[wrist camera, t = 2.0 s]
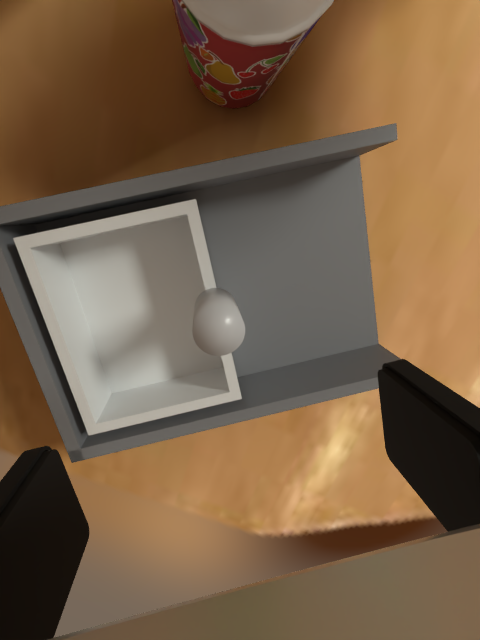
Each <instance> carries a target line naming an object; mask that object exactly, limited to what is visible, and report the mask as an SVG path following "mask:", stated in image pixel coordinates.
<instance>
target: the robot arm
mask: <svg viewBox="0 0 480 640" xmlns="http://www.w3.org/2000/svg"><path fill="white" fill-rule="evenodd" d="M378 384H379V394H380V403H381V412H382V421H383V430H384V439H385V448H386V452H387V455H388V457H389V459H390V460H391V462H392V463H393V464H394V466H395V467H396V468H397V469H398V470H399V472H400V473H401V474H402V475H403V477H404V478H405V479H406V480H407V482H408V483H409V484H410V485H411V487H412V488H413V489H414V490H415V491H416V493H417V494H418V495H419V496H420V498H421V499H422V500H423V501H424V503H425V504H426V505H427V506H428V508H429V509H430V510H431V511H432V512H433V514H434V515H435V516H436V517H437V519H438V520H439V521H440V522H441V524H442V525H443V526H444V527H445V529H446V530H447V531H448V532H446V533H442V534H438V535H434V536H430V537H426V538H421V539H418V540H414V541H410V542H406V543H402V544H399V545H395V546H391V547H387V548H383V549H380V550H376V551H372V552H368V553H364V554H361V555H357V556H353V557H349V558H345V559H342V560H338V561H334V562H330V563H327V564H323V565H319V566H315V567H312V568H308V569H304V570H300V571H296V572H293V573H289V574H285V575H281V576H278V577H274V578H270V579H267V580H263V581H259V582H256V583H252V584H248V585H245V586H241V587H237V588H233V589H230V590H226V591H222V592H219V593H215V594H211V595H208V596H204V597H201V598H197V599H193V600H189V601H186V602H182V603H178V604H175V605H171V606H167V607H163V608H160V609H156V610H152V611H149V612H146V613H142V614H138V615H134V616H131V617H128V618H124V619H120V620H117V621H113V622H109V623H106V624H102V625H98V626H95V627H91V628H88V629H84V630H80V631H77V632H73V633H70V634H66V635H62V636H59V637H55V638H53V637H54V635H55V632H56V629H57V626H58V623H59V620H60V618H61V615H62V612H63V609H64V606H65V603H66V601H67V598H68V595H69V592H70V589H71V586H72V584H73V581H74V578H75V575H76V573H77V570H78V567H79V564H80V561H81V558H82V556H83V553H84V550H85V547H86V544H87V541H88V538H89V526H88V523H87V520H86V518H85V515H84V513H83V510H82V508H81V506H80V503H79V501H78V498H77V496H76V494H75V491H74V489H73V486H72V484H71V481H70V479H69V476H68V474H67V472H66V469H65V467H64V464H63V462H62V459H61V457H60V454H59V453H58V451H57V450H55V449H53V450H52V449H51V448H50V447H49V446H44V447H40V448H36V449H31V450H27V451H24V452H23V453H22V454H21V456H20V457H19V458H18V459H17V461H16V462H15V463H14V465H13V466H12V467H11V469H10V470H9V471H8V472H7V474H6V475H5V476H4V477H3V479H2V480H1V481H0V640H480V408H478V407H477V406H475V405H474V404H472V403H471V402H469V401H468V400H466V399H465V398H463V397H461V396H460V395H458V394H457V393H455V392H454V391H452V390H451V389H449V388H448V387H446V386H445V385H443V384H442V383H440V382H439V381H437V380H436V379H434V378H432V377H431V376H429V375H428V374H426V373H425V372H423V371H422V370H420V369H419V368H417V367H416V366H414V365H413V364H411V363H410V362H408V361H407V360H405V359H401V360H397V361H392V362H388V363H384V364H383V366H382V369H381V370H378Z"/></svg>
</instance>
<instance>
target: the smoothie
mask: <svg viewBox="0 0 480 640" xmlns="http://www.w3.org/2000/svg"><path fill="white" fill-rule="evenodd" d="M172 2H173V6H174V10H175V15H176V19H177V23H178V27H179V31H180V36H181V40H182V44H183V48H184V52H185V57H186V61H187V65H188V69H189V73H190V75H191V77H192V79H193V81H194V83H195V85H196V87H197V88H198V89H199V90H200V92H201V93H202V94H203V95H204V96H205V97H206V98H207V99H208V100H210V101H212V102H214V103H215V104H217V105H219V106H222V107H227V108H232V109H235V108H241V107H247V106H249V105H251V104H252V103H254V102H256V101H258V100H259V99H260V98H261V97H262V96H263V95H264V94H265V93H266V92H267V90H268V89H269V88H270V86H271V85H272V84H273V82H274V81H275V79H276V78H277V77H278V75H279V74H280V73H281V71H282V70H283V68H284V67H285V66H286V64H287V63H288V61H289V60H290V59H291V57H292V56H293V55H294V53H295V52H296V50H297V49H298V48H299V46H300V45H301V44H302V42H303V41H304V39H305V38H306V37H307V35H308V34H309V32H310V31H311V30H312V28H313V27H314V26H315V24H316V23H317V21H318V20H319V19H320V17H321V16H322V14H323V13H324V12H325V11H326V10H327V9H328V8H329V7H330V6H331V5H332V4H333V2H334V0H172Z"/></svg>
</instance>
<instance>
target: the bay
mask: <svg viewBox="0 0 480 640" xmlns="http://www.w3.org/2000/svg"><path fill="white" fill-rule="evenodd" d="M395 140H397V127H396V123H395V124H390V125H386V126H381V127H376V128H371V129H367V130H362V131H357V132H352V133H348V134H343V135H338V136H333V137H329V138H324V139H319V140H314V141H309V142H305V143H300V144H295V145H290V146H286V147H281V148H276V149H271V150H267V151H262V152H257V153H252V154H248V155H243V156H238V157H233V158H229V159H224V160H219V161H214V162H210V163H205V164H200V165H195V166H191V167H186V168H181V169H176V170H172V171H167V172H162V173H157V174H152V175H148V176H143V177H138V178H133V179H129V180H124V181H119V182H114V183H110V184H105V185H100V186H95V187H91V188H86V189H81V190H76V191H72V192H67V193H62V194H57V195H53V196H48V197H43V198H38V199H34V200H29V201H24V202H19V203H15V204H10V205H5V206H0V288H1V291H2V293H3V296H4V298H5V301H6V303H7V305H8V308H9V310H10V313H11V315H12V318H13V320H14V323H15V325H16V327H17V330H18V332H19V335H20V337H21V340H22V342H23V345H24V347H25V349H26V352H27V354H28V357H29V359H30V362H31V364H32V367H33V369H34V371H35V374H36V376H37V379H38V381H39V384H40V386H41V389H42V391H43V393H44V396H45V398H46V401H47V403H48V406H49V408H50V411H51V413H52V415H53V418H54V420H55V423H56V425H57V428H58V430H59V433H60V435H61V437H62V440H63V442H64V445H65V447H66V450H67V452H68V455H69V457H70V459H71V462H72V463H73V462H77V461H81V460H85V459H89V458H93V457H98V456H102V455H106V454H110V453H114V452H118V451H122V450H126V449H131V448H135V447H139V446H143V445H147V444H151V443H155V442H159V441H164V440H168V439H172V438H176V437H180V436H184V435H188V434H192V433H196V432H201V431H205V430H209V429H213V428H217V427H221V426H225V425H229V424H234V423H238V422H242V421H246V420H250V419H254V418H258V417H262V416H266V415H271V414H275V413H279V412H283V411H287V410H291V409H295V408H299V407H304V406H308V405H312V404H316V403H320V402H324V401H328V400H332V399H337V398H341V397H345V396H349V395H353V394H357V393H361V392H365V391H369V390H374V389H378V388H379V384H378V370H381V369H382V366H383V364H384V363H388V362H392V361H397V360H401V359H400V358H398V357H397V356H395V355H394V354H393V353H391V352H390V351H388V350H387V349H385V348H384V347H382V346H381V345H380V344H378V334H377V324H376V314H375V305H374V295H373V285H372V275H371V265H370V256H369V246H368V236H367V226H366V216H365V206H364V197H363V187H362V177H361V167H360V157H359V155H362V154H364V153H367V152H369V151H371V150H374V149H376V148H379V147H381V146H383V145H386V144H388V143H391V142H393V141H395ZM193 199H196V201H197V205H198V210H199V214H200V218H201V223H202V227H203V231H204V236H205V240H206V244H207V249H208V253H209V257H210V262H211V266H212V270H213V275H214V279H215V283H216V288H221V289H224V290H226V291H228V292H229V293H230V294H231V295H232V296H233V298H234V300H235V302H236V305H237V307H238V309H239V312H240V314H241V317H242V319H243V321H244V325H245V336H244V339H243V342H242V343H241V345H240V346H239V347H238V348H237V349H236V350H235V351H233V352H232V357H233V361H234V366H235V370H236V374H237V379H238V383H239V388H240V392H241V396H242V399H239V400H235V401H231V402H227V403H222V404H218V405H214V406H210V407H206V408H202V409H197V410H193V411H189V412H185V413H181V414H177V415H172V416H168V417H164V418H160V419H156V420H152V421H147V422H143V423H139V424H135V425H131V426H127V427H122V428H118V429H114V430H110V431H106V432H102V433H97V434H93V435H88V433H87V430H86V427H85V425H84V422H83V420H82V417H81V414H80V412H79V409H78V407H77V404H76V401H75V399H74V396H73V393H72V391H71V388H70V386H69V383H68V380H67V378H66V375H65V373H64V370H63V367H62V365H61V362H60V360H59V357H58V354H57V352H56V349H55V346H54V344H53V341H52V339H51V336H50V333H49V331H48V328H47V326H46V323H45V320H44V318H43V315H42V312H41V310H40V307H39V305H38V302H37V299H36V297H35V294H34V292H33V289H32V286H31V284H30V281H29V279H28V276H27V273H26V271H25V268H24V265H23V263H22V260H21V258H20V255H19V252H18V250H17V247H16V245H15V242H14V239H13V238H16V237H21V236H25V235H30V234H35V233H39V232H44V231H49V230H53V229H58V228H63V227H67V226H72V225H77V224H81V223H86V222H91V221H95V220H100V219H105V218H109V217H114V216H119V215H123V214H128V213H133V212H137V211H142V210H147V209H151V208H156V207H161V206H165V205H170V204H175V203H179V202H184V201H189V200H193Z"/></svg>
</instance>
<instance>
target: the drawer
mask: <svg viewBox="0 0 480 640" xmlns="http://www.w3.org/2000/svg"><path fill="white" fill-rule="evenodd" d="M13 239H14V242H15V245H16V247H17V250H18V252H19V255H20V258H21V260H22V263H23V265H24V268H25V271H26V273H27V276H28V279H29V281H30V284H31V286H32V289H33V292H34V294H35V297H36V299H37V302H38V305H39V307H40V310H41V312H42V315H43V318H44V320H45V323H46V326H47V328H48V331H49V333H50V336H51V339H52V341H53V344H54V346H55V349H56V352H57V354H58V357H59V360H60V362H61V365H62V367H63V370H64V373H65V375H66V378H67V380H68V383H69V386H70V388H71V391H72V393H73V396H74V399H75V401H76V404H77V407H78V409H79V412H80V414H81V417H82V420H83V422H84V425H85V427H86V430H87V433H88V435H93V434H97V433H102V432H106V431H110V430H114V429H118V428H122V427H127V426H131V425H135V424H139V423H143V422H147V421H152V420H156V419H160V418H164V417H168V416H172V415H177V414H181V413H185V412H189V411H193V410H197V409H202V408H206V407H210V406H214V405H218V404H222V403H227V402H231V401H235V400H239V399H242V396H241V392H240V388H239V383H238V379H237V374H236V370H235V366H234V361H233V357H232V352H233V351H235V350H236V349H237V348H238V347H239V346H240V345H241V343H242V342H243V339H244V336H245V325H244V321H243V319H242V317H241V314H240V312H239V309H238V307H237V305H236V302H235V300H234V298H233V296H232V295H231V294H230V293H229V292H228V291H226V290H224V289H221V288H216V283H215V279H214V275H213V270H212V266H211V262H210V257H209V253H208V249H207V244H206V240H205V236H204V231H203V227H202V223H201V218H200V214H199V210H198V205H197V201H196V199H193V200H189V201H184V202H179V203H175V204H170V205H165V206H161V207H156V208H151V209H147V210H142V211H137V212H133V213H128V214H123V215H119V216H114V217H109V218H105V219H100V220H95V221H91V222H86V223H81V224H77V225H72V226H67V227H63V228H58V229H53V230H49V231H44V232H39V233H35V234H30V235H25V236H21V237H16V238H13Z"/></svg>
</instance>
